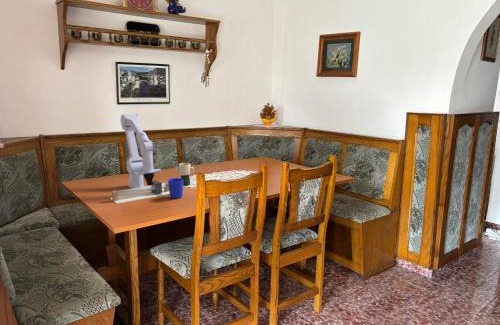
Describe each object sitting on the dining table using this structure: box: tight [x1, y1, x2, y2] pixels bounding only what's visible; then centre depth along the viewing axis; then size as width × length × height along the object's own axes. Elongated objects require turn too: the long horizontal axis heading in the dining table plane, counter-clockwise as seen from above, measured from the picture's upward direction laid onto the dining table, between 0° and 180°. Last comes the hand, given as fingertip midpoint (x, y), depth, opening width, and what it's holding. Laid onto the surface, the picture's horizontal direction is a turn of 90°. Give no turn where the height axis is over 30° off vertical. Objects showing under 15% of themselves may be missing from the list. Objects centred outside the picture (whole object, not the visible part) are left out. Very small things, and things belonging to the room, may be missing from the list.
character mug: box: [175, 162, 195, 186], centre depth 246 cm, size 11×7×13 cm, turn 87°
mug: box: [167, 177, 184, 200], centre depth 221 cm, size 8×12×10 cm
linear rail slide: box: [109, 181, 170, 205], centre depth 222 cm, size 12×32×5 cm, turn 126°
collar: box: [151, 179, 163, 194], centre depth 227 cm, size 8×3×6 cm, turn 36°
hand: (149, 186), depth 228 cm, fingers closed
